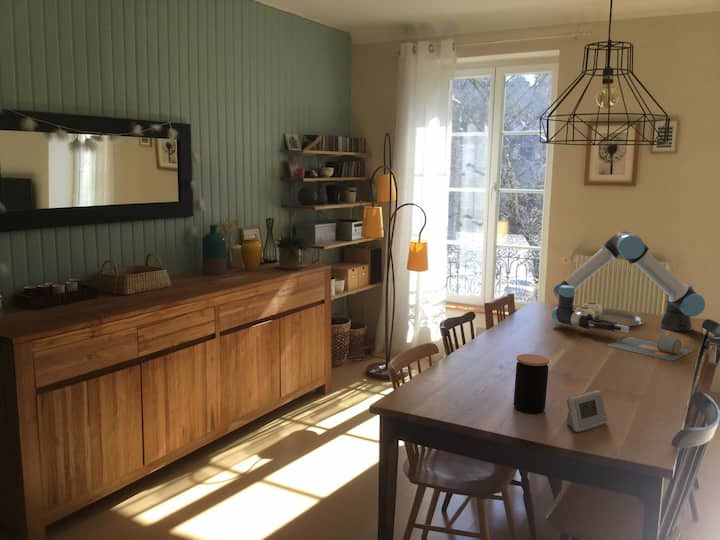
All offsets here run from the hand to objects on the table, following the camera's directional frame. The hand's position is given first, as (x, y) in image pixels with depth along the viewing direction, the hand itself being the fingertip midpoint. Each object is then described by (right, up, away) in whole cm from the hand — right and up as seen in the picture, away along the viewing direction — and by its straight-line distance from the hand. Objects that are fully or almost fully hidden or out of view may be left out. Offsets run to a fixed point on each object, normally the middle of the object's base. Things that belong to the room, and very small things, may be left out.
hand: (628, 329), depth 313 cm
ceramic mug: (+13, -9, -13) cm, 21 cm away
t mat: (+7, -8, -8) cm, 13 cm away
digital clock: (-54, -22, -100) cm, 116 cm away
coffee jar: (-69, -19, -87) cm, 113 cm away
